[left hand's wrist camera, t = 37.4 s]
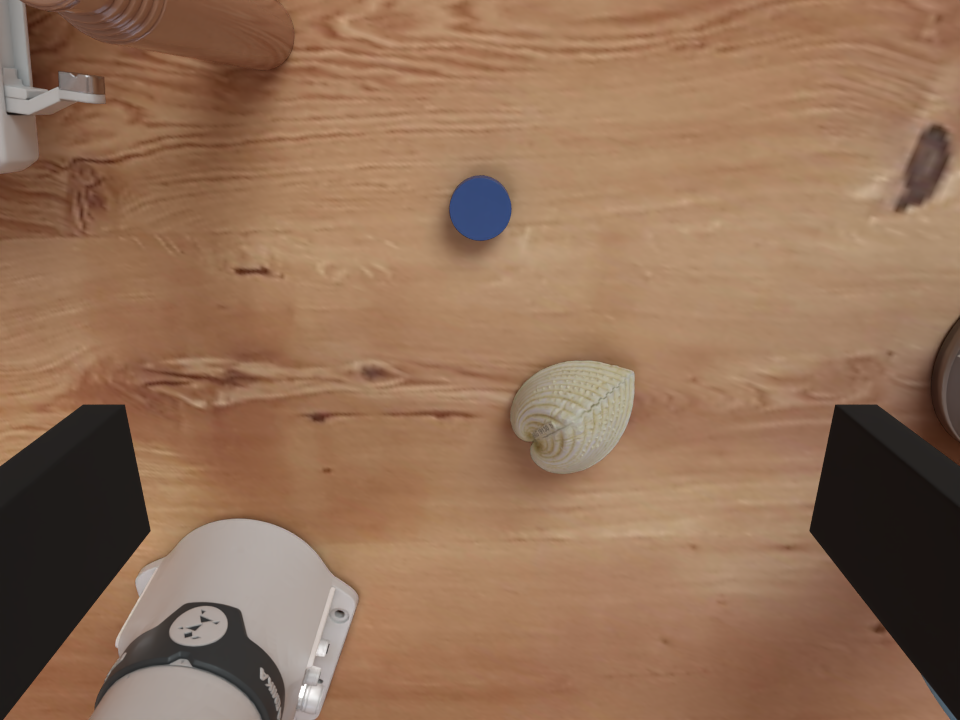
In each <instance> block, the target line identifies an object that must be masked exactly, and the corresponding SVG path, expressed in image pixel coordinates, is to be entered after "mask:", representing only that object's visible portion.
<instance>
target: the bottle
mask: <svg viewBox="0 0 960 720" xmlns="http://www.w3.org/2000/svg"><path fill="white" fill-rule="evenodd" d="M20 1H21V2H23V3H25V4H26V5H28V6H31V7H34V8H37V9H40V10H46V11H49V12H58V13H59V14H60V15H61V16H62V17H64V18H65V19H66V20H67V21H68V22H69V23H70V24H71V25H73V26H74V27H75V28H76V29H78V30H79V31H81V32H83V33H84V34H86V35H88V36H90V37H92V38H94V39H96V40H99V41H101V42H105V43H109V44H114V45H120V46H125V47H131V48H136V49H142V50H148V51H153V52H159V53H165V54H170V55H176V56H182V57H187V58H193V59H199V60H204V61H210V62H215V63H221V64H227V65H232V66H238V67H244V68H249V69H255V70H270V69H273V68H276V67H278V66H279V65H281V64H282V63H283V62H284V61H285V60H286V59H287V58H288V56H289V55H290V53H291V50H292V47H293V44H294V28H293V24H292V21H291V18H290V16H289V14H288V13H287V11H286V9H285V8H284V7H283V6H282V5H281V4H280V3H279V2H278V1H277V0H20Z"/></svg>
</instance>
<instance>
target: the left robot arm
mask: <svg viewBox="0 0 960 720" xmlns="http://www.w3.org/2000/svg"><path fill="white" fill-rule="evenodd" d="M931 395H932V401H933V406H934V409H935V412H936V415H937V417H938V419H939V421H940V422H941V424H942V426H943V427H944V428H945V430H946V431H947V432H948V433H949V434H950V435H951V436H952V437H953V438H954V439H956V440H957V441H958V442H960V319H959V320H958V321H957V323H956V324H955V325H954V327H953V328H952V329H951V331H950V332H949V334H948V336H947V337H946V339H945V340H944V342H943V344H942V346H941V348H940V351H939V353H938V356H937V358H936V361H935V365H934V368H933V374H932V382H931ZM149 532H150V526H149V521H148V516H147V511H146V506H145V501H144V496H143V492H142V487H141V482H140V477H139V472H138V467H137V462H136V457H135V453H134V448H133V443H132V438H131V433H130V428H129V423H128V418H127V414H126V409H125V405H82V406H81V407H79V408H78V409H77V410H75V411H74V412H73V413H71V414H70V415H69V416H67V417H66V418H65V419H63V420H62V421H61V422H59V423H58V424H57V425H55V426H54V427H53V428H51V429H50V430H49V431H47V432H46V433H44V434H43V435H42V436H40V437H39V438H38V439H36V440H35V441H34V442H32V443H31V444H30V445H28V446H27V447H26V448H24V449H23V450H22V451H20V452H19V453H18V454H16V455H15V456H14V457H12V458H11V459H10V460H8V461H7V462H6V463H4V464H3V465H1V466H0V720H3V719H4V718H5V717H6V715H7V714H8V713H9V712H10V710H11V709H12V708H13V706H14V705H15V704H16V703H17V701H18V700H19V699H20V697H21V696H22V695H23V694H24V692H25V691H26V690H27V689H28V687H29V686H30V685H31V683H32V682H33V681H34V680H35V678H36V677H37V676H38V674H39V673H40V672H41V671H42V669H43V668H44V667H45V665H46V664H47V663H48V662H49V660H50V659H51V658H52V657H53V655H54V654H55V653H56V651H57V650H58V649H59V648H60V646H61V645H62V644H63V642H64V641H65V640H66V639H67V637H68V636H69V635H70V633H71V632H72V631H73V630H74V628H75V627H76V626H77V625H78V623H79V622H80V621H81V619H82V618H83V617H84V616H85V614H86V613H87V612H88V610H89V609H90V608H91V607H92V605H93V604H94V603H95V601H96V600H97V599H98V598H99V596H100V595H101V594H102V593H103V591H104V590H105V589H106V587H107V586H108V585H109V584H110V582H111V581H112V580H113V578H114V577H115V576H116V575H117V573H118V572H119V571H120V569H121V568H122V567H123V566H124V564H125V563H126V562H127V561H128V559H129V558H130V557H131V555H132V554H133V553H134V552H135V550H136V549H137V548H138V546H139V545H140V544H141V543H142V541H143V540H144V539H145V537H146V536H147V535H148V534H149ZM810 532H811V534H812V535H813V536H814V537H815V539H816V540H817V541H818V543H819V544H820V545H821V546H822V548H823V549H824V550H825V552H826V553H827V554H828V555H829V557H830V558H831V559H832V561H833V562H834V563H835V564H836V566H837V567H838V568H839V569H840V571H841V572H842V573H843V575H844V576H845V577H846V578H847V580H848V581H849V582H850V584H851V585H852V586H853V587H854V589H855V590H856V591H857V593H858V594H859V595H860V596H861V598H862V599H863V600H864V601H865V603H866V604H867V605H868V607H869V608H870V609H871V610H872V612H873V613H874V614H875V616H876V617H877V618H878V619H879V621H880V622H881V623H882V625H883V626H884V627H885V628H886V630H887V631H888V632H889V633H890V635H891V636H892V637H893V639H894V640H895V641H896V642H897V644H898V645H899V646H900V648H901V649H902V650H903V651H904V653H905V654H906V655H907V657H908V658H909V659H910V660H911V662H912V663H913V664H914V665H915V667H916V668H917V669H918V671H919V672H920V673H921V675H922V677H923V679H924V680H925V682H926V684H927V686H928V687H929V689H930V691H931V692H932V694H933V695H934V697H935V698H936V700H937V701H938V703H939V704H940V706H941V707H942V709H943V710H944V711H945V713H946V714H947V715H948V717H949V718H950V719H951V720H960V466H959V465H957V464H956V463H954V462H953V461H952V460H950V459H949V458H948V457H946V456H945V455H944V454H942V453H941V452H940V451H938V450H937V449H936V448H934V447H933V446H932V445H930V444H929V443H928V442H926V441H925V440H924V439H922V438H921V437H920V436H918V435H917V434H916V433H914V432H913V431H911V430H910V429H909V428H907V427H906V426H905V425H903V424H902V423H901V422H899V421H898V420H897V419H895V418H894V417H893V416H891V415H890V414H889V413H887V412H886V411H885V410H883V409H882V408H881V407H879V406H878V405H835V409H834V414H833V418H832V423H831V428H830V433H829V438H828V443H827V448H826V453H825V457H824V462H823V467H822V472H821V477H820V482H819V487H818V492H817V496H816V501H815V506H814V511H813V516H812V521H811V526H810Z"/></svg>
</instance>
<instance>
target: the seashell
mask: <svg viewBox="0 0 960 720" xmlns="http://www.w3.org/2000/svg"><path fill="white" fill-rule="evenodd" d="M634 379H635V377H634V372H633V371H632V370H629V369H625V368H621V367H619V366H616V365H609V364H605V363H602V362H596V361H566V362H562V363H558V364H555V365H552V366H550V367H547V368H545V369H543V370H541V371H539V372H537V373H536V374H534V375H533V376H532V377H530V378H529V379H528V380H527V381H526V382H525V383H524V384H523V385H522V386H521V388H520V389H519V390H518V392H517V394H516V396H515V398H514V400H513V403H512V406H511V412H510V421H511V425H512V429H513V430H514V432H515V434H516V435H517V436H518V438H520V439H521V440H523V441H526V442H533V443H532V445H531V448H530V454H531V458H532V459H533V461H534V462H535V463H536V464H537V465H538V466H539V467H541V468H542V469H544V470H546V471H548V472H551V473H558V474H568V473H574V472H578V471H582V470H585V469H587V468H589V467H591V466H592V465H594V464H596V463H597V462H599V461H601V460H602V459H603V458H604V457H605V456H606V455H607V454H609V452H610V451H611V450H612V449H613V448H614V447H615V445H616V444H617V443H618V441H619V440H620V438H621V436H622V434H623V432H624V431H625V429H626V426H627V424H628V421H629V418H630V415H631V411H632V406H633V400H634Z"/></svg>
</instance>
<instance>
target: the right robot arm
mask: <svg viewBox="0 0 960 720" xmlns="http://www.w3.org/2000/svg"><path fill="white" fill-rule="evenodd" d="M58 75H59V87H56V88H54V89H52V90H50V91H48V90H47V89H41V88H34V87H33V81H32V70H31V59H30V48H29V37H28V26H27V15H26V4H25V3H23V2H21V1H20V0H0V174H3V173H12V172H18V171H22V170H24V169H26V168H28V167H29V166H30V165H32V164H33V163H34V162H36V161H37V160H38V158H39V145H38V135H37V124H36V115H51V114H54V113H56V112H58V111H60V110H62V109H64V108H66V107H68V106H70V105H72V104H74V103H76V102H84V103H95V104H106V101H105V83H104V77H102V76H95V75H88V74H82V73H74V72H62V71H58ZM135 583H136V588H137V591H138V595H139V599H138V601H137V603H136V604H135V606H134V608H133V609H132V611H131V613H130V615H129V617H128V618H127V620H126V622H125V624H124V625H123V627H122V629H121V631H120V633H119V634H118V636H117V639H116V643H115V646H116V647H117V648H118V653H119V659H118V660H117V661H116V662H115V664H114V665H113V667H112V668H111V670H110V671H109V673H108V675H107V676H106V679H105V681H104V684H103V686H102V688H101V690H100V692H99V694H98V696H97V699H96V703H95V710H94V712H93V714H92V715H91V717H90V718H89V720H314V719H316V718H317V717H318V716H319V714H320V711H321V709H322V706H323V704H324V701H325V698H326V695H327V692H328V689H329V686H330V683H331V681H332V678H333V675H334V672H335V669H336V666H337V663H338V660H339V657H340V654H341V651H342V648H343V645H344V643H345V640H346V637H347V634H348V631H349V628H350V625H351V622H352V619H353V616H354V613H355V610H356V608H357V605H358V601H359V597H358V594H357V593H356V591H355V590H354V589H353V588H351V587H350V586H349V585H347V584H346V583H344V582H343V581H342V580H340V579H338V578H337V577H335V576H334V575H333V574H332V573H331V572H330V571H329V569H328V568H327V567H326V565H325V564H324V562H323V561H322V559H321V558H320V557H319V555H318V554H317V553H316V552H315V551H314V550H313V549H312V548H311V547H310V546H309V545H308V544H307V543H306V542H305V541H303V540H302V539H301V538H299V537H298V536H296V535H295V534H293V533H291V532H290V531H288V530H286V529H284V528H281V527H279V526H276V525H273V524H270V523H267V522H263V521H258V520H252V519H225V520H219V521H215V522H211V523H208V524H206V525H203V526H201V527H199V528H197V529H195V530H193V531H192V532H190V533H189V534H187V535H186V536H185V537H184V538H183V539H182V540H181V541H180V542H179V543H178V544H177V545H176V546H175V548H174V549H173V550H172V551H171V552H170V553H169V554H168V555H167V556H166V557H164V558H161V559H159V560H156V561H154V562H152V563H150V564H148V565H146V566H145V567H143V568H142V569H141V571H140V572H139V574H138V576H137V578H136V581H135ZM337 610H341V611H343V612H339V611H337Z"/></svg>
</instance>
